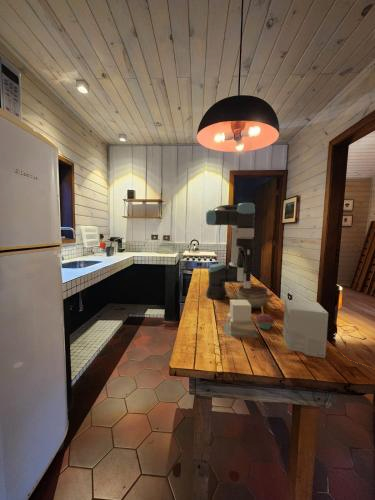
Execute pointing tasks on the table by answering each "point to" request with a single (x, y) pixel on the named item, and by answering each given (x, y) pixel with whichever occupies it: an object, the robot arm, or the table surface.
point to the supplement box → (305, 327)
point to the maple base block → (240, 326)
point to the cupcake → (264, 320)
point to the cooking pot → (253, 295)
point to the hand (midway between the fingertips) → (243, 284)
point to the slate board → (237, 335)
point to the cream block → (240, 310)
